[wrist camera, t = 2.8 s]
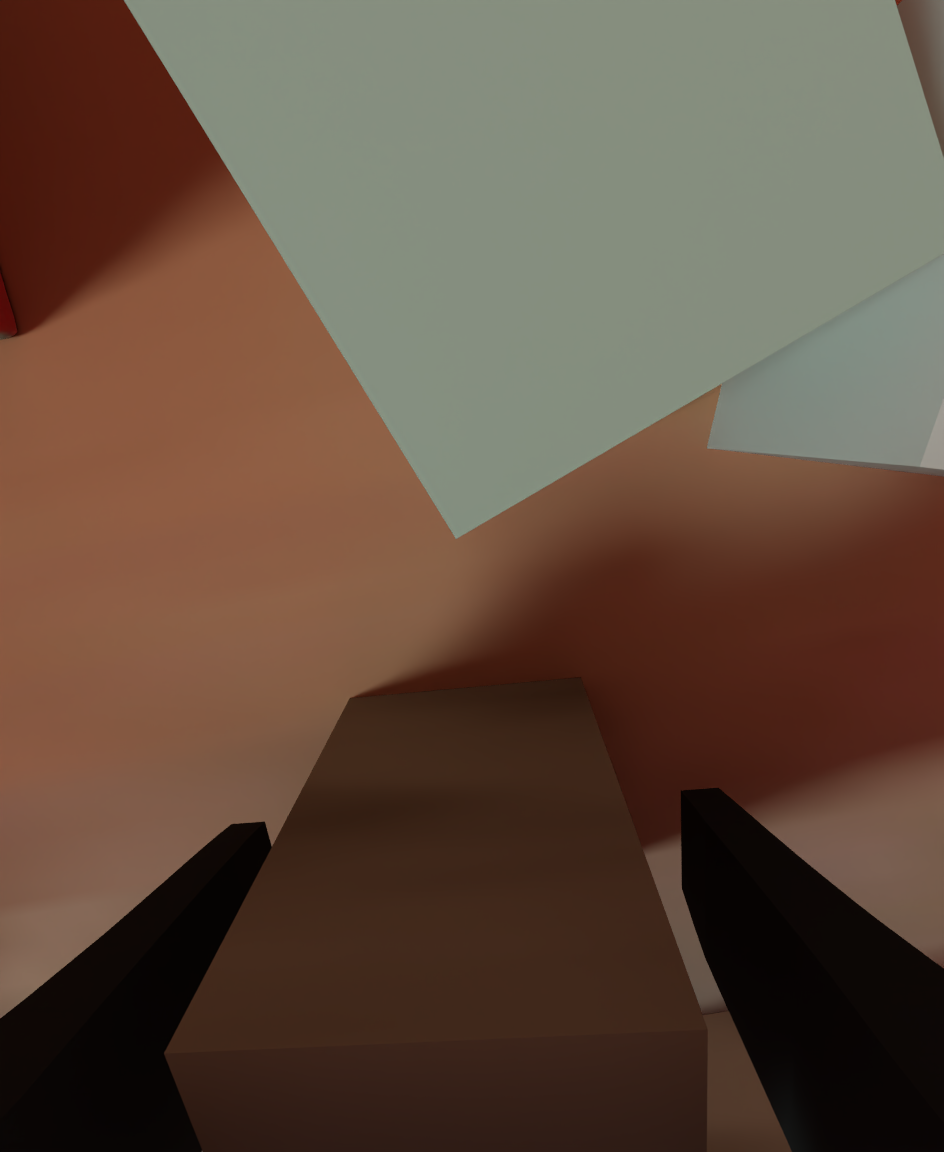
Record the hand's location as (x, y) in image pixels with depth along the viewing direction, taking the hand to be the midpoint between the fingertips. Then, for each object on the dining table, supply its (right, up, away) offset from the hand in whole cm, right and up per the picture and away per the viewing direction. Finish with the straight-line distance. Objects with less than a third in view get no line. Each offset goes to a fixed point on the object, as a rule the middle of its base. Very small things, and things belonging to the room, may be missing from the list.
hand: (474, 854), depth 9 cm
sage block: (+1, +9, -1) cm, 9 cm away
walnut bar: (0, 0, +2) cm, 2 cm away
